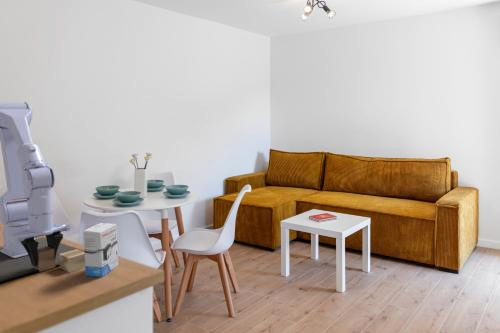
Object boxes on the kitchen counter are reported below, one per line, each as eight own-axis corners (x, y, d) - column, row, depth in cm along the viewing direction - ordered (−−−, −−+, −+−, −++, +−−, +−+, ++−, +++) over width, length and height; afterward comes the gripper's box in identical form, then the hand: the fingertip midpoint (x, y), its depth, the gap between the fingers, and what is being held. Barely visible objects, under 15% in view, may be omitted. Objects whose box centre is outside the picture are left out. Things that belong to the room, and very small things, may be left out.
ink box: (102, 277, 101) (100, 232, 99) (84, 276, 102) (82, 231, 100) (119, 265, 109) (117, 223, 108) (103, 263, 110) (101, 222, 108)
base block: (59, 268, 107) (59, 254, 106) (77, 263, 111) (76, 249, 110) (69, 273, 104) (68, 258, 103) (87, 267, 108) (86, 253, 107)
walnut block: (32, 268, 107) (31, 250, 106) (47, 263, 110) (46, 246, 109) (39, 271, 104) (38, 253, 104) (55, 267, 107) (54, 249, 107)
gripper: (18, 221, 97) (21, 274, 99) (74, 209, 108) (77, 258, 110) (5, 216, 101) (9, 268, 103) (61, 206, 113) (63, 252, 114)
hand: (43, 262), depth 107 cm, fingers closed on walnut block, 4 cm apart
